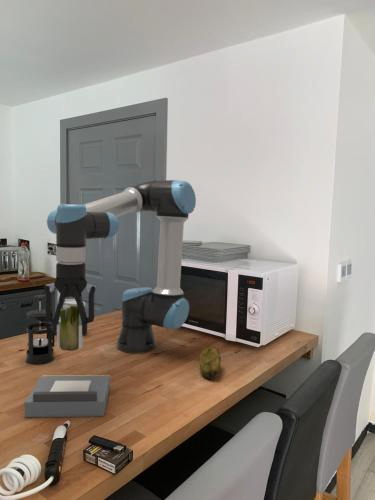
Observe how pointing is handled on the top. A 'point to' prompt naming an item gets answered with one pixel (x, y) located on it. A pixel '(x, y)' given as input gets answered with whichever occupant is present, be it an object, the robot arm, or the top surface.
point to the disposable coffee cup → (71, 303)
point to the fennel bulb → (69, 329)
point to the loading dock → (68, 396)
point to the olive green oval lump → (210, 362)
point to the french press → (40, 347)
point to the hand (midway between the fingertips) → (70, 346)
